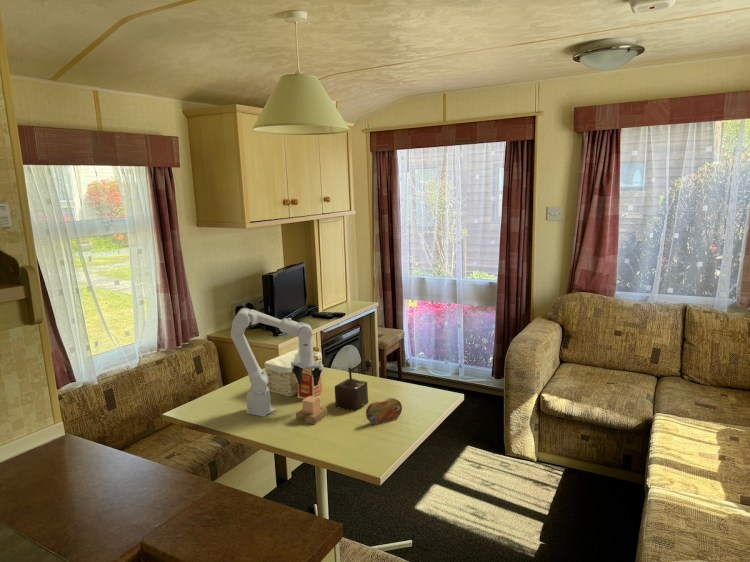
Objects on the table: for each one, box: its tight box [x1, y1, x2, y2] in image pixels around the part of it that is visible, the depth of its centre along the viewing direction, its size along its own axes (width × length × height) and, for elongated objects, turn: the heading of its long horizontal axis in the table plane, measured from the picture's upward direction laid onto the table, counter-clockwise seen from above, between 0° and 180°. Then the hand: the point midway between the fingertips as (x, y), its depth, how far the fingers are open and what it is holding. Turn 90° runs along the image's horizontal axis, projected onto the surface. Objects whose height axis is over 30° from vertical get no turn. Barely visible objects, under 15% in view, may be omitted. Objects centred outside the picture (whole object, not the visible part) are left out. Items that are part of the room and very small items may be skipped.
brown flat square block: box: [295, 406, 328, 425], centre depth 207 cm, size 9×9×3 cm
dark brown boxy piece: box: [334, 359, 374, 412], centre depth 219 cm, size 16×11×18 cm
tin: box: [365, 397, 403, 425], centre depth 202 cm, size 15×3×8 cm, turn 117°
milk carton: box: [297, 355, 323, 400], centre depth 230 cm, size 9×9×20 cm
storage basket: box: [263, 348, 323, 397], centre depth 242 cm, size 24×16×15 cm
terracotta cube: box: [302, 396, 321, 414], centre depth 207 cm, size 5×5×5 cm
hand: (308, 384), depth 216 cm, fingers open, 7 cm apart
